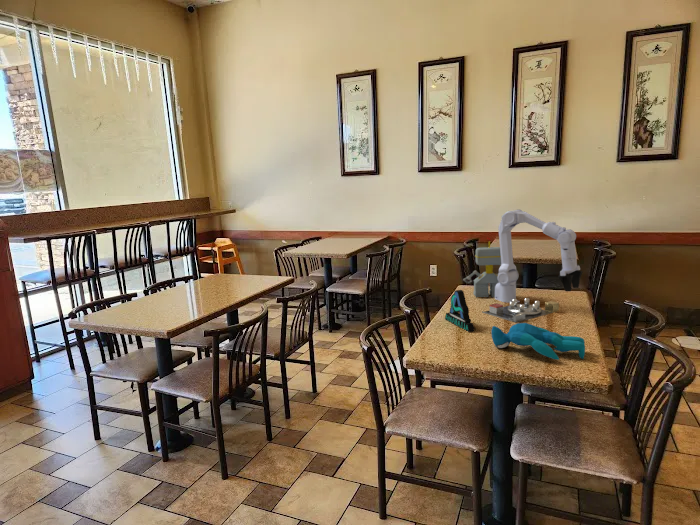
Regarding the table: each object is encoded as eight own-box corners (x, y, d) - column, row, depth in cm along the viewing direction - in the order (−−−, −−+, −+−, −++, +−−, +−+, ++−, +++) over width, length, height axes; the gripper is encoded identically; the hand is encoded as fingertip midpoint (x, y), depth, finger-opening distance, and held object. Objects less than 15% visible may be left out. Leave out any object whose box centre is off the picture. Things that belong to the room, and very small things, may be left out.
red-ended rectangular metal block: (489, 313, 200) (489, 304, 199) (496, 312, 202) (496, 303, 201) (496, 315, 197) (496, 306, 196) (503, 314, 199) (503, 305, 198)
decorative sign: (474, 331, 181) (474, 295, 178) (468, 332, 180) (468, 295, 177) (450, 319, 199) (449, 285, 196) (444, 319, 198) (444, 286, 195)
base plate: (481, 314, 203) (481, 306, 202) (518, 305, 214) (518, 298, 213) (516, 324, 186) (516, 316, 186) (553, 314, 197) (553, 306, 197)
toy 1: (513, 293, 235) (513, 235, 230) (517, 297, 227) (518, 237, 222) (461, 294, 238) (461, 237, 233) (464, 298, 230) (463, 239, 224)
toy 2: (582, 350, 161) (493, 338, 173) (585, 321, 159) (495, 311, 171) (584, 371, 144) (486, 356, 156) (587, 339, 142) (488, 326, 154)
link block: (544, 311, 203) (545, 302, 202) (550, 309, 205) (551, 300, 204) (552, 313, 199) (552, 304, 199) (558, 311, 201) (558, 302, 201)
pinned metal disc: (500, 310, 204) (500, 301, 203) (522, 304, 211) (522, 296, 210) (526, 317, 192) (526, 308, 191) (548, 311, 199) (549, 302, 198)
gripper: (570, 260, 188) (574, 293, 189) (585, 255, 197) (588, 286, 198) (554, 261, 193) (557, 292, 194) (569, 256, 203) (572, 286, 204)
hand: (572, 289), depth 197 cm, fingers open, 7 cm apart
